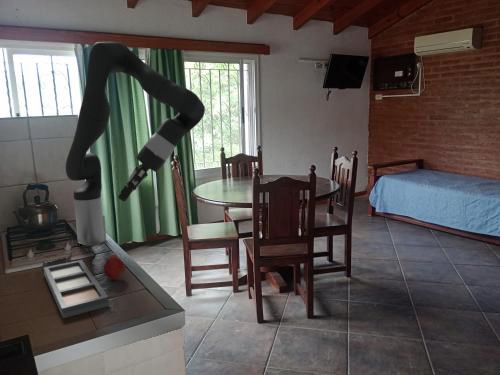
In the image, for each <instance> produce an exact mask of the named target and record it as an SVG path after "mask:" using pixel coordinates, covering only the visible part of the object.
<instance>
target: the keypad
mask: <svg viewBox="0 0 500 375" xmlns="http://www.w3.org/2000/svg"><path fill="white" fill-rule="evenodd" d="M43 273H44V274H43V275H44V278H45V280H46V282H47V285H48V287H49V290H50V291H51V293H52V294H51V295H52V296H53V298H54V301H55V304H56V306H57V308H58V310H59V312H60V314H61V318H62V319H66V318H70V317H73V316H78V315H81V314H85V313H89V312H91V311H92V312H93V311H97V310H100V309H103V308H108V307H110V302H109V296H108V294H107V292H105V290H104V289H103V287H102V286H101V284H100V283H99V282H98V280H97V279H96V277H95V276H94V275H93V273H92V272H91V271H90V269H89V268H88V266H87V265H86V263H85V262H84V261H83V259H80V260H75V261H70V262H69V263H64V264H59V265H54V266H49V267H44V271H43ZM92 288H94V290H95V291H96V293H97V294H98V296H99V297H97V298H93V299H89V300H85V301H81V302H77V303H73V304H69V305H66V303H65V301H64V299H63V297H62V296H63V295H67V294H72V293H76V292H80V291H84V290H88V289H92Z"/></svg>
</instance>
